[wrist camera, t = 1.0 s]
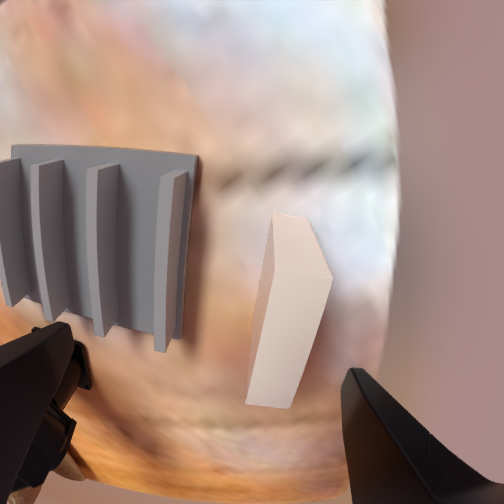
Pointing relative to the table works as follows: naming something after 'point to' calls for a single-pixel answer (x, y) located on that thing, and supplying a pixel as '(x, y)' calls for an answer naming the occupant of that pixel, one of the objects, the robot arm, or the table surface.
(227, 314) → the table surface
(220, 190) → the table surface
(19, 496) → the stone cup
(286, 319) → the beige upright tile
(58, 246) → the dish rack
